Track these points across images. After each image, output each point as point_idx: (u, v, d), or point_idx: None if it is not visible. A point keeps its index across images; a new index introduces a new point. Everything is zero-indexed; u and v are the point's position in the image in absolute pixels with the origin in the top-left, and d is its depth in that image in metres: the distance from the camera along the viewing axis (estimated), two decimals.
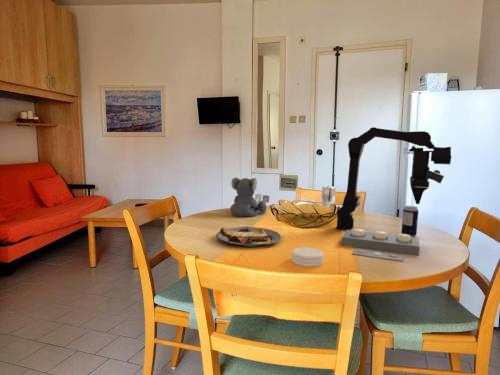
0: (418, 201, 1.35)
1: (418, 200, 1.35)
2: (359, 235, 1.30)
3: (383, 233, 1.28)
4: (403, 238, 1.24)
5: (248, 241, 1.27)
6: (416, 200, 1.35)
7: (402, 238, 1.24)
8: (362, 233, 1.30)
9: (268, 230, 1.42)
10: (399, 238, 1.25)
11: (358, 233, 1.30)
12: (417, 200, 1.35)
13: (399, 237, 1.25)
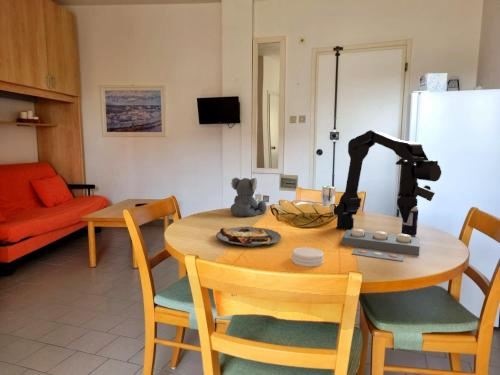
0: (406, 220, 1.22)
1: (406, 219, 1.22)
2: (359, 235, 1.30)
3: (383, 233, 1.28)
4: (403, 238, 1.24)
5: (248, 241, 1.27)
6: (403, 218, 1.22)
7: (402, 238, 1.24)
8: (362, 233, 1.30)
9: (268, 230, 1.42)
10: (399, 238, 1.25)
11: (358, 233, 1.30)
12: (404, 218, 1.22)
13: (399, 237, 1.25)
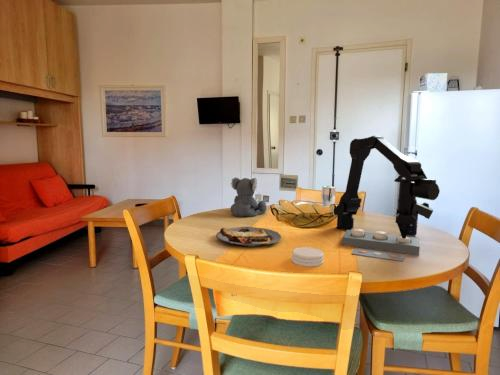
0: (404, 235, 1.25)
1: (404, 234, 1.25)
2: (359, 235, 1.30)
3: (383, 233, 1.28)
4: (403, 241, 1.24)
5: (248, 241, 1.27)
6: (402, 234, 1.25)
7: (402, 241, 1.24)
8: (362, 233, 1.30)
9: (268, 230, 1.42)
10: (399, 241, 1.25)
11: (358, 233, 1.30)
12: (403, 234, 1.25)
13: (399, 240, 1.25)
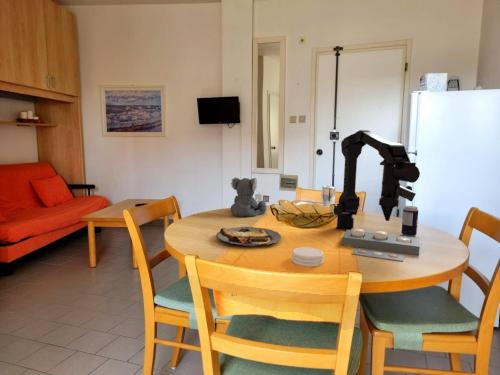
0: (388, 218, 1.27)
1: (388, 217, 1.27)
2: (359, 235, 1.30)
3: (383, 233, 1.28)
4: None
5: (248, 241, 1.27)
6: (386, 217, 1.27)
7: None
8: (362, 233, 1.30)
9: (268, 230, 1.42)
10: None
11: (358, 233, 1.30)
12: (387, 217, 1.27)
13: (399, 241, 1.25)
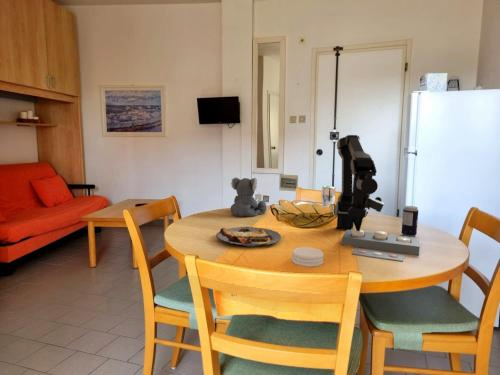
0: (358, 228, 1.31)
1: (358, 227, 1.31)
2: (359, 236, 1.30)
3: (383, 233, 1.28)
4: None
5: (248, 241, 1.27)
6: (356, 227, 1.31)
7: None
8: (362, 234, 1.30)
9: (268, 230, 1.42)
10: None
11: (358, 234, 1.30)
12: (357, 227, 1.31)
13: (399, 241, 1.25)
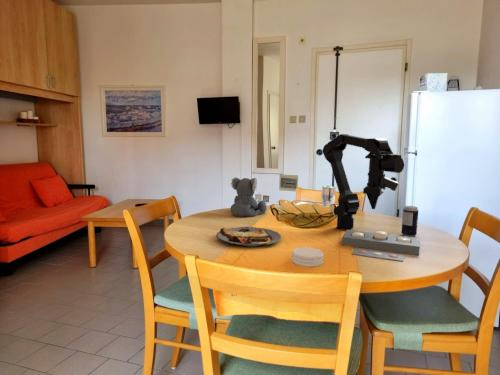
0: (374, 206, 1.39)
1: (373, 205, 1.39)
2: None
3: (383, 233, 1.28)
4: None
5: (248, 241, 1.27)
6: (372, 205, 1.39)
7: None
8: None
9: (268, 230, 1.42)
10: None
11: None
12: (373, 205, 1.39)
13: (399, 241, 1.25)
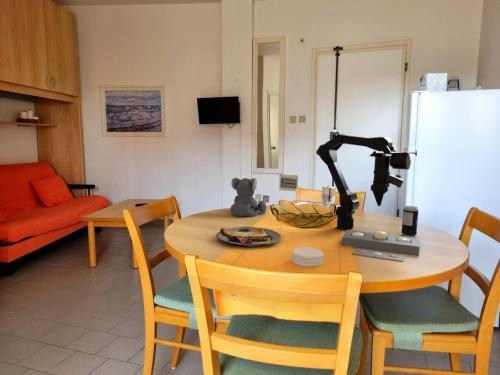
0: (379, 203, 1.42)
1: (379, 202, 1.42)
2: None
3: (383, 233, 1.28)
4: None
5: (248, 241, 1.27)
6: (377, 202, 1.42)
7: None
8: None
9: (268, 230, 1.42)
10: None
11: None
12: (378, 202, 1.42)
13: (399, 241, 1.25)
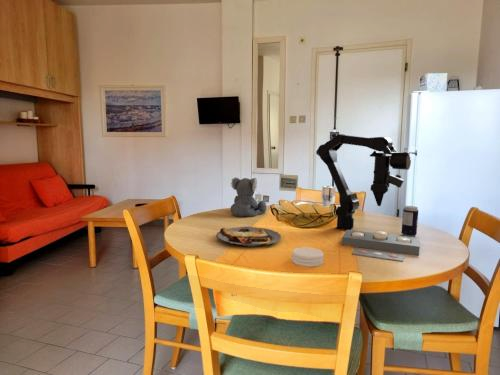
0: (379, 203, 1.42)
1: (379, 202, 1.42)
2: None
3: (383, 233, 1.28)
4: None
5: (248, 241, 1.27)
6: (377, 202, 1.42)
7: None
8: None
9: (268, 230, 1.43)
10: None
11: None
12: (378, 202, 1.42)
13: (399, 241, 1.25)
